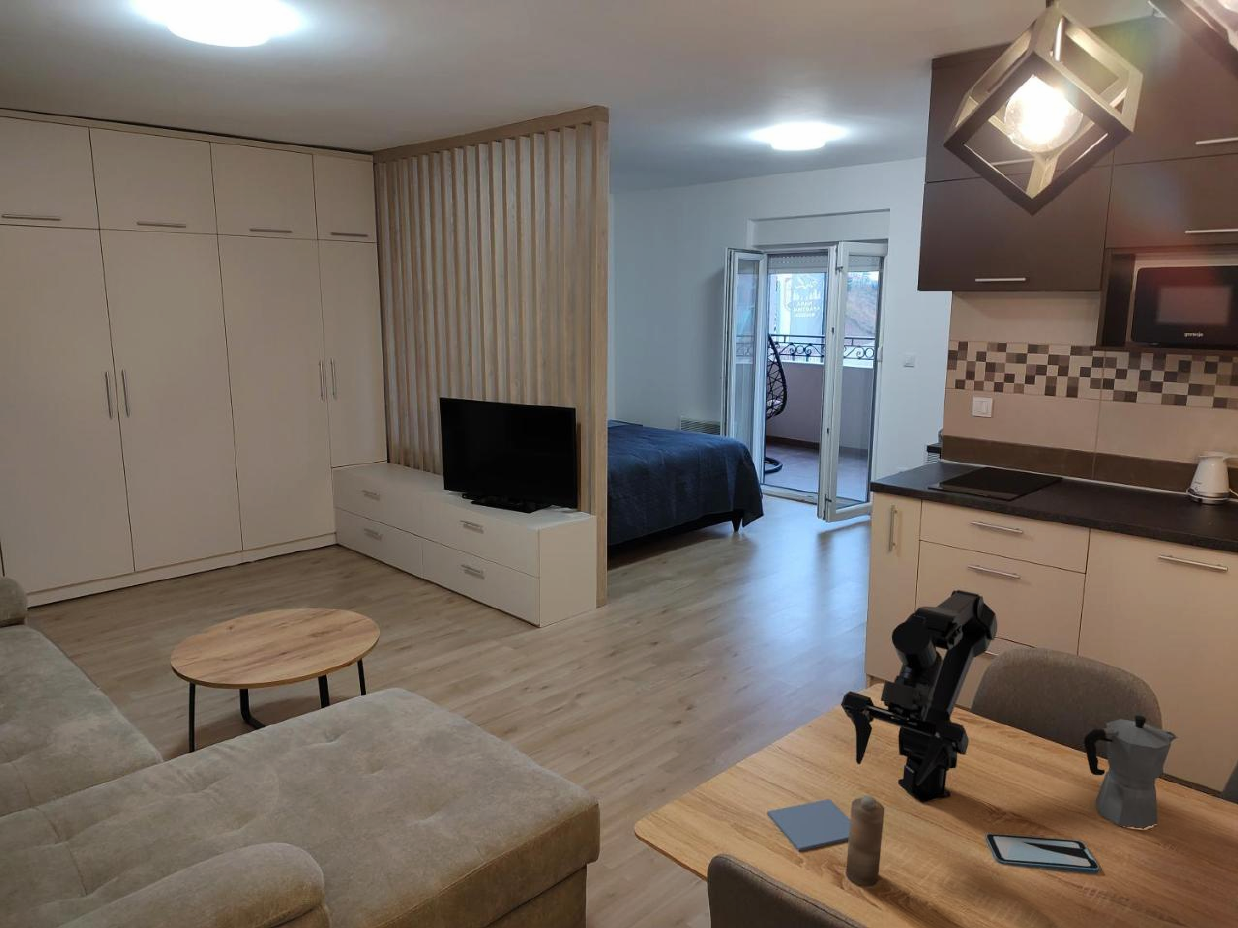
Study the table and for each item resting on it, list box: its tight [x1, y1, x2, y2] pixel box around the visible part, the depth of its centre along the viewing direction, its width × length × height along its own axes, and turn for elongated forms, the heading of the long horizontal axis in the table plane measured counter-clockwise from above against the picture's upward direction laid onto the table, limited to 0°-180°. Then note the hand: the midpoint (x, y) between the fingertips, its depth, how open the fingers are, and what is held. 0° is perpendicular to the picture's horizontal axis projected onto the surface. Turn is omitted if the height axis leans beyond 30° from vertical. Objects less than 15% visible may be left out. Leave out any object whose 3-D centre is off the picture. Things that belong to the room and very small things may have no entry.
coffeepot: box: [1083, 715, 1178, 829], centre depth 141 cm, size 15×9×18 cm, turn 92°
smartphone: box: [984, 833, 1100, 874], centre depth 133 cm, size 7×1×15 cm
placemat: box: [766, 798, 851, 852], centre depth 139 cm, size 12×10×1 cm
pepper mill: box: [845, 795, 885, 888], centre depth 125 cm, size 5×5×13 cm
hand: (886, 773), depth 130 cm, fingers open, 9 cm apart
